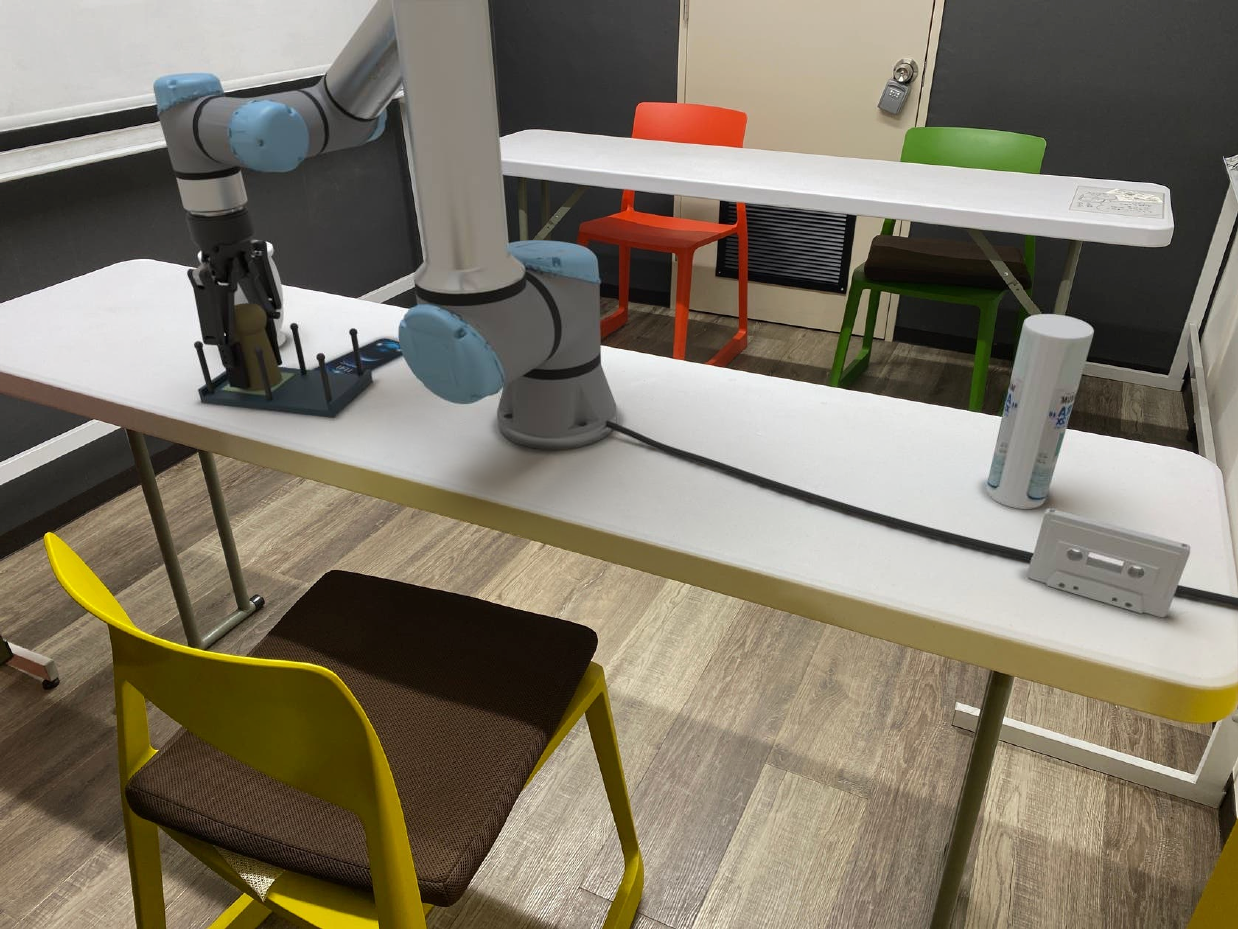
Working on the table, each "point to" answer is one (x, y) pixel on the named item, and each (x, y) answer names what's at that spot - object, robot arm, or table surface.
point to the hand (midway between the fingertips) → (257, 374)
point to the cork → (255, 344)
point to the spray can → (1038, 408)
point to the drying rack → (291, 385)
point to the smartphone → (366, 357)
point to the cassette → (1102, 578)
